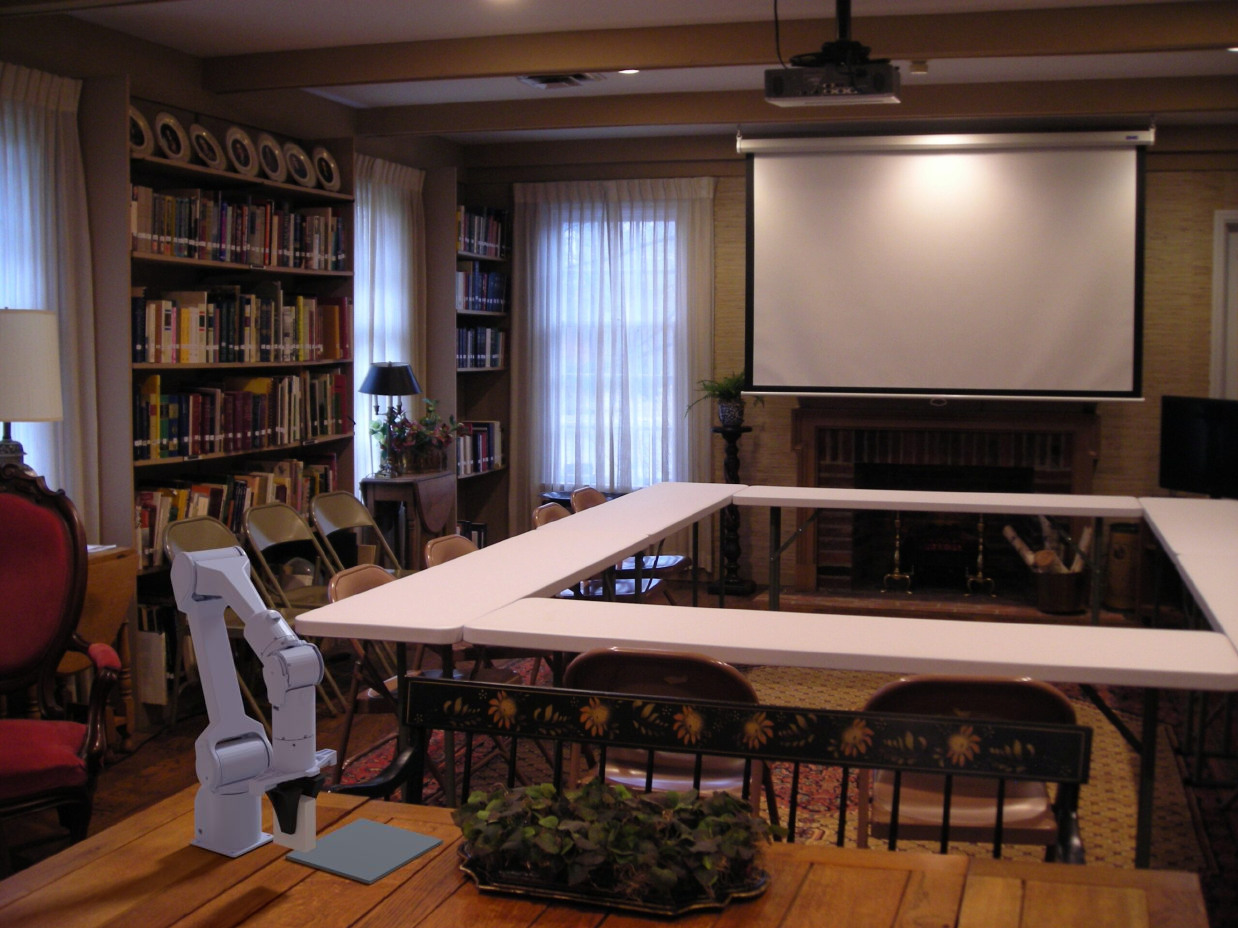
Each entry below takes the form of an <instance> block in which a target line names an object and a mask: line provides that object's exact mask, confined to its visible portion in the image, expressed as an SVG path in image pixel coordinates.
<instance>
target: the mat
mask: <svg viewBox="0 0 1238 928" xmlns="http://www.w3.org/2000/svg"><path fill="white" fill-rule="evenodd" d="M442 844H444V839H442V838H438V837H433V836H430V835H426V834H423V833H418V832H415V831H411V830H409V829H404V828H400V827H397V826H393V825H390V824H386V823H383V822H379V821H375V820H371V819H367V818H364V817H360V818H358V819H356V820H353V821H352V822H350V823H347V824H345V825H344V826H341V827H340V828H338V829H336V830H334V831H331V832H329V833H328V834H325V835H323V836H321V837H320V838H318V839H317V838H316V848H314V849H312V850H310V851H308V852H306V853H304V852H301V851H298V850H295V849H294V850H293V851H291V852H289V853H287V854H285V859H287V860H289V861H293V862H295V863H298V864H299V863H300V864H302V865H306V866H309V867H311V868H316V869H319V870H322V871H324V872H328V873H332V874H336V875H339V876H342V877H345V878H349V879H351V880H355V881H358V882H361V883H365V884H368V885H372V884H374V883H375V882H377V881H379V880H381V879H382V878H384V877H386V876H388V875H389V874H391V873H393V872H395V871H396V870H398V869H400V868H402V867H403V866H405V865H408V863H410V862H412V861H414V860H416V859H417V858H419V857H422V856H424V855H425V854H427V853H428V852H430V851H432V850H434V849H435V848H437V847H439V846H440V845H442Z"/></svg>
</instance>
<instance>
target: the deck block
mask: <svg viewBox="0 0 1238 928" xmlns="http://www.w3.org/2000/svg"><path fill="white" fill-rule="evenodd" d="M316 801H317V799H316V800H315V798H312V797H308V796H305V795H301V796H300V799H299V803H298V809H297V826H296V831H295V834H293V835H289V834H286V833H283V832H281V829H280V826H279V822H278V819H277V815H276V812H275V810H274V807H273V806H272V814H273V815H272V816H273V817H272V821H273V822H272V824H273V825H272V827H273V828H272V829H273V834H272V835H273V840H272V841H273V844H275V845H279V846H282V847H285V848H288V849H292V850H294V851H295V850H298V851H301V852H304V853H306V852H308V851H310V850H312V849H314V848H316V840H317V835H316V834H317V832H316V831H317V830H316V829H317V823H316V819H317V818H316V813H317V812H316V806H317V805H316V804H317V803H316Z"/></svg>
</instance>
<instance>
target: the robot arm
mask: <svg viewBox="0 0 1238 928" xmlns="http://www.w3.org/2000/svg"><path fill="white" fill-rule="evenodd" d="M248 557H249V556H248V555H247V553H246V552H245V550H244V549H243V548H242V547H240V546H239V545H232V546H230V547H223V548H214V549H213V548H212V549H207V550H199V551H198V550H197V551H189V552H187V551H180V552H178V553H177V554H176V555H175V558H174V559H173V561H172V565H171V569H170V580H171V585H172V589H173V590H172V591H173V595H174V599H175V602H176V605H177V610H178V611H180V612H182V613H185V614H186V616H187V621H188V626H189V629H190V634H191V635H190V636H191V639H192V644H193V645H192V646H193V649H194V650H193V651H194V654H195V659H196V663H197V667H198V672H199V677H200V683H201V686H202V691H203V696H204V700H205V706H206V710H207V715H208V720H209V724H208V725H207V727H206V728H205V729H204V730H203V732H202V733H200V735H199V736H198V738H197V739H196V740H195V743H194V748H195V749H194V750H195V757H196V758H195V771H196V776H197V779H198V781H199V783H200V784H201V785H200V787H199V788H198V790H197V791H196V794H195V797H194V804H193V806H194V809H193V810H194V838H193V839H191V840H190V842H189V843H190V844H191V846H192V845H193V846H196V847H199V848H203V849H206V850H208V851H211V852H215V853H218V854H220V855H221V854H222V855H225V856H228V857H231V858H237V857H239V856H241V855H243V854H244V855H245V853H248V852H250V851H252V850H254V849H257V848H258V847H260V846H262V845H265V844H266V843H269V842H271V841H273V834H271V833H267V832H263V831H262V824H263V823H262V796H265V795H266V797H267V798H268V799H269V802H271V805H272V808H273V807H274V810H275V812H276V815H277V819H278V822H279V826H280V829H281V832H283V833H286V834H289V835H293V834H295V831H296V826H297V809H298V803H299V799H300V796H301V795H305V796H308V797H312V798H315V800H316V801H317V798H318V796H319V794H320V791H321V790H322V787H324V785H325V783H326V775H325V774H323V773H321V769H323V768H324V767H327V766H330V767H332V766H335V765H337V757H338V756H337V755H338V754H337V752H338V751H337V750H334V749H330V748H324V749H321V750H318V751H316V747H317V745H316V686H317V685H320V684H321V682H322V680H323V677H324V673H325V665H324V664H325V663H324V660H323V656H322V654H321V652H320V650H319V648H318V646H317V645H315V644H314V643H312V642H307V641H306V640H305V639H303V640H301V639H300V638H299V637H298V636H297V634H296V633H295V632H294V631H293V630H292V628H291V626H290V625H289V624H288V622H287V621H286V620H285V618H284V617H283V616H282V615H281V613H280V612H279V611H277V610H275V609H268V608H267V607H266V605H265V602H264V601H263V599H262V598H261V596H260V594H259V593H258V591H257V589H256V587H255V586H254V583H253V582H252V580H251V563H250V562H251V561H250V559H249V558H248ZM228 606H229V607H230V608H231V609H232V610H233V611H234V613H235V614H236V615H237V616H238V617H239V619H241V621H242V622H243V623H244V624H245V625H244V628H243V637H244V638H245V640H246V641H247V643H248V644H249V646H250V647H251V649H252V650H253V651H254V653H255V654H256V655H257V657H258V659H259V660H260V662H261V663H262V665H263V667H262V676H263V681H264V684H265V686H266V688H267V699H268V703H269V704H271V718H272V719H271V723H272V725H271V726H272V727H271V728H272V733H271V734H272V736H271V738H272V744H271V742H270V741H269V739H268V737H267V734H266V730H265V728H264V725H263V724H262V723H261V722H259V721H257V720H255V719H253V718H251V717H249V716H248V715H246V713H245V708H244V702H243V699H242V698H243V697H242V694H241V690H240V684H239V682H238V681H239V680H238V675H237V672H236V666H235V663H234V657H233V653H232V648H231V643H230V640H229V636H228V631H227V625H226V621H225V618H224V617H225V616H224V613H225V610H226V609H227V607H228ZM236 738H238V739H236ZM239 738H240V739H239ZM231 739H234V740H232V741H228V740H231ZM235 739H236V740H235ZM226 740H227V742H224V743H219V744H217V743H218V742H223V741H226Z"/></svg>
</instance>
